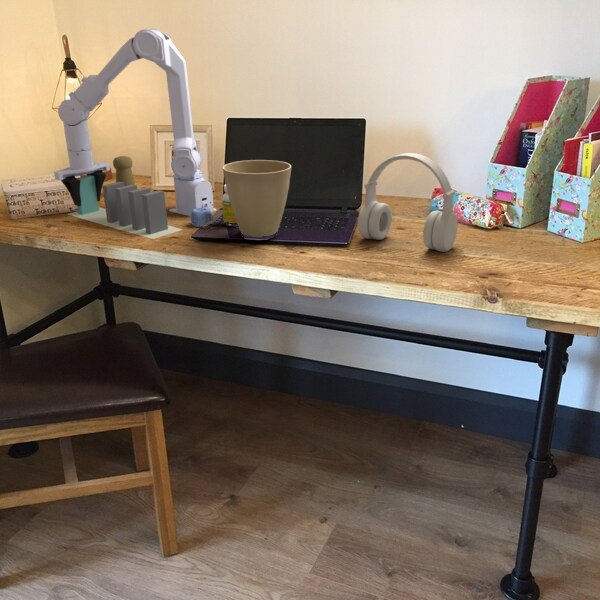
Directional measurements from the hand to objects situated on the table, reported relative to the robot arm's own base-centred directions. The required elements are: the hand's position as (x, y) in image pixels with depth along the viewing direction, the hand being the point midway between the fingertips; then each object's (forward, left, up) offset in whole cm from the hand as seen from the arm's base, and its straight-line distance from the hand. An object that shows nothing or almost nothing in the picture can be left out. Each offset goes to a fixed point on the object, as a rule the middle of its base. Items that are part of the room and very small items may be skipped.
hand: (87, 203), depth 169 cm
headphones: (-78, -27, -3) cm, 83 cm away
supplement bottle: (-38, -15, -3) cm, 41 cm away
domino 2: (-12, 0, -2) cm, 13 cm away
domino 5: (-27, 0, -2) cm, 28 cm away
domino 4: (-22, 0, -2) cm, 23 cm away
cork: (+7, -17, -3) cm, 19 cm away
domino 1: (0, 0, -2) cm, 2 cm away
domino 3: (-17, 0, -2) cm, 18 cm away
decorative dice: (-32, -10, -3) cm, 34 cm away
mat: (-14, 0, -3) cm, 15 cm away
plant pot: (-49, -12, -3) cm, 51 cm away
